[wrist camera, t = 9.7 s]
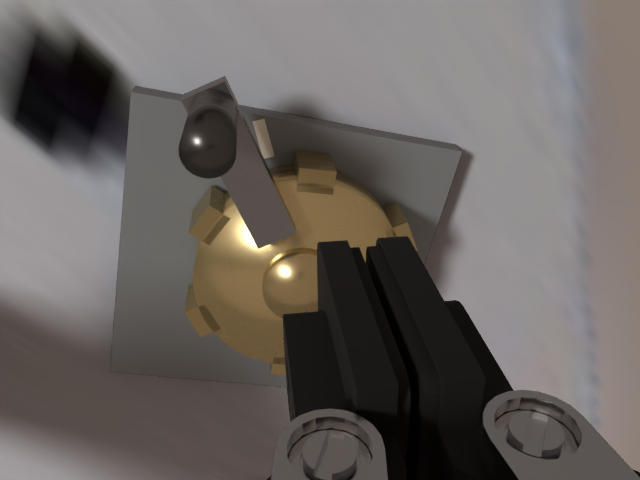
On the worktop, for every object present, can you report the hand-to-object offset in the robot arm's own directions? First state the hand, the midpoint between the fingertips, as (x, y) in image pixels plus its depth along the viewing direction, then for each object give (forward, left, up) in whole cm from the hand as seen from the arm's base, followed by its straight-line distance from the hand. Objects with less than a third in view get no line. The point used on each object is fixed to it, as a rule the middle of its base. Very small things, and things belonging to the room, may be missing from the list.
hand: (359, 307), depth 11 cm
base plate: (+1, -11, -21) cm, 24 cm away
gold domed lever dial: (+1, -7, -20) cm, 21 cm away
